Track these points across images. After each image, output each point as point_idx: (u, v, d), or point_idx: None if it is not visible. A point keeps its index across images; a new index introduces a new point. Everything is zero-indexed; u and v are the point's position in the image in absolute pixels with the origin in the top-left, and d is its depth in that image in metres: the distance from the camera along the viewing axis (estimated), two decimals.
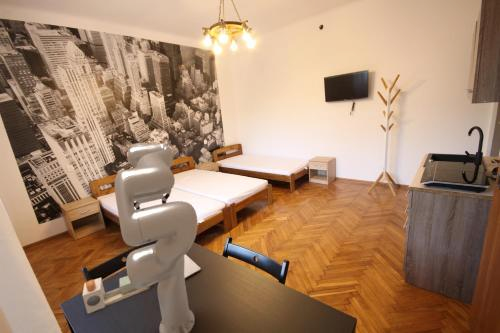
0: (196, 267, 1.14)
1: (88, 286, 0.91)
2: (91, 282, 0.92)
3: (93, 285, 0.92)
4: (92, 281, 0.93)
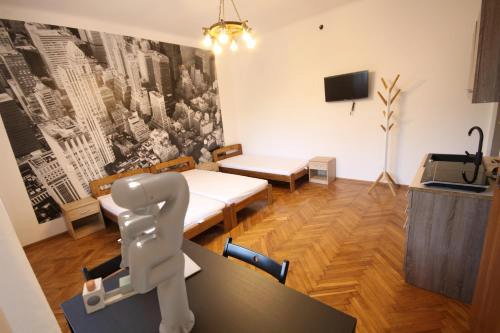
0: (196, 267, 1.14)
1: (88, 286, 0.91)
2: (91, 282, 0.92)
3: (93, 285, 0.92)
4: (92, 281, 0.93)
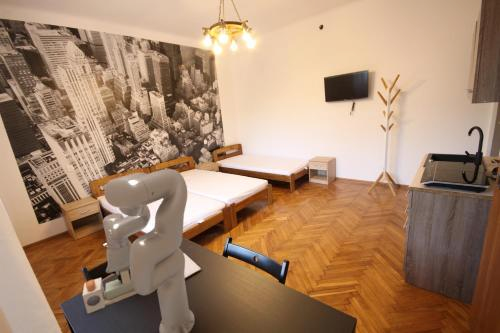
0: (196, 267, 1.14)
1: (88, 286, 0.91)
2: (91, 282, 0.92)
3: (93, 285, 0.92)
4: (92, 281, 0.93)
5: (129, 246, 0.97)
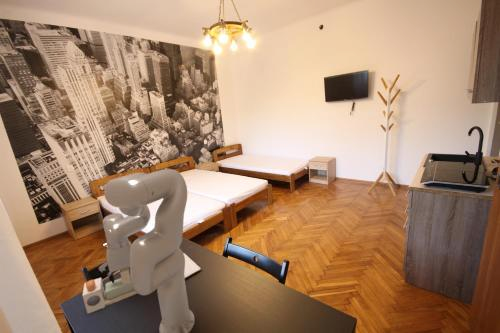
0: (196, 267, 1.14)
1: (88, 286, 0.91)
2: (91, 282, 0.92)
3: (93, 285, 0.92)
4: (92, 281, 0.93)
5: (129, 246, 0.97)
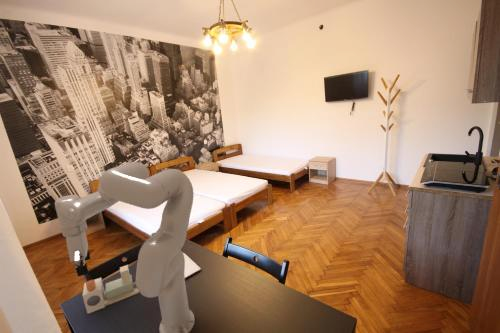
0: (196, 267, 1.14)
1: (88, 286, 0.91)
2: (91, 282, 0.92)
3: (93, 285, 0.92)
4: (92, 281, 0.93)
5: (66, 239, 0.82)
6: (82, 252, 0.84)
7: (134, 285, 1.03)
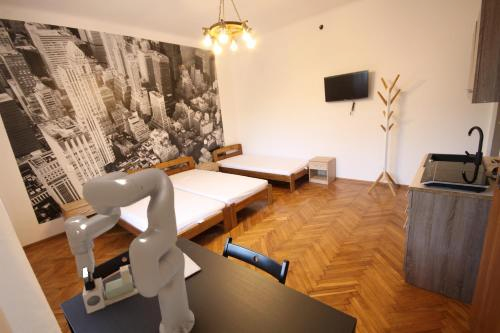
0: (196, 267, 1.14)
1: None
2: None
3: None
4: None
5: (75, 257, 0.88)
6: (90, 268, 0.90)
7: (134, 285, 1.03)
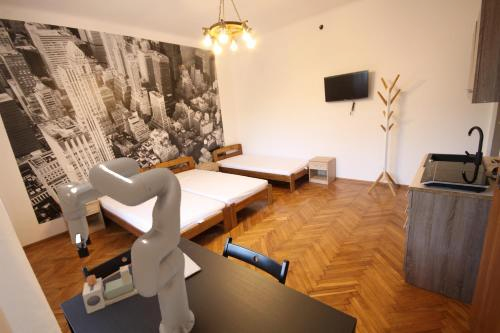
0: (196, 267, 1.14)
1: (89, 281, 0.94)
2: (92, 277, 0.95)
3: (94, 280, 0.95)
4: (93, 276, 0.96)
5: (68, 223, 0.87)
6: (83, 235, 0.89)
7: (134, 285, 1.03)
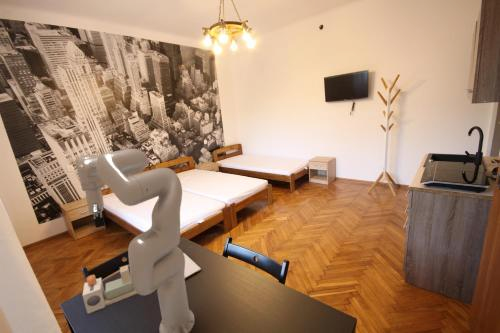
0: (196, 267, 1.14)
1: (89, 281, 0.94)
2: (92, 277, 0.95)
3: (94, 280, 0.95)
4: (93, 276, 0.96)
5: None
6: (99, 205, 0.94)
7: None
